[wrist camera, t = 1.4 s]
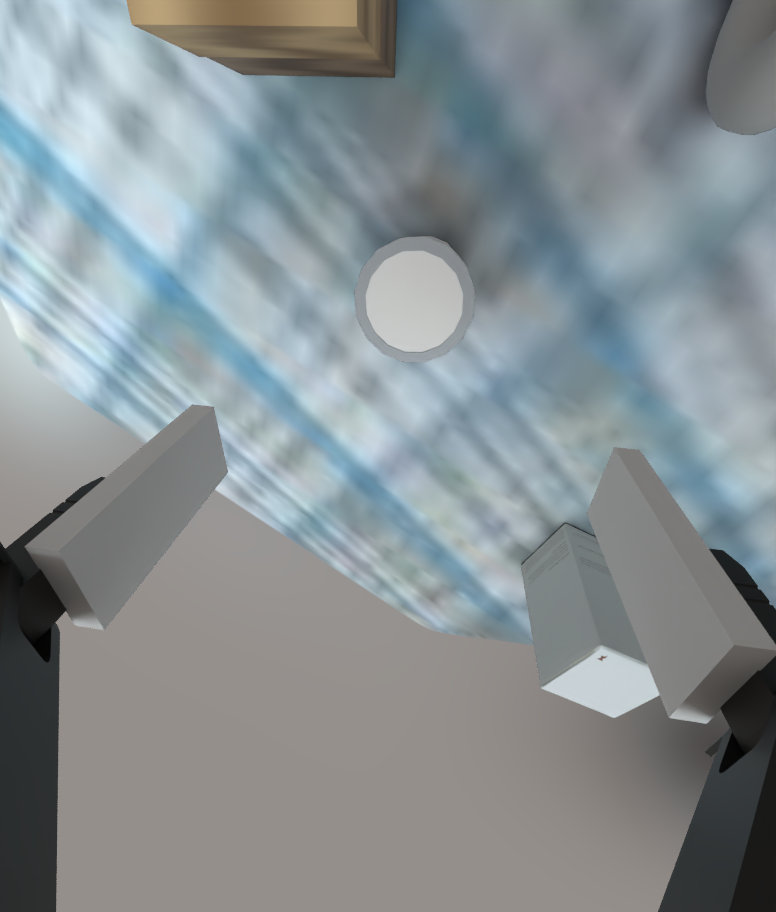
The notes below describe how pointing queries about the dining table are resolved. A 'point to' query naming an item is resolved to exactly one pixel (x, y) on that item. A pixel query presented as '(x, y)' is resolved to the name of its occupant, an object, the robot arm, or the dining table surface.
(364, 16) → the oak block
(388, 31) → the walnut block
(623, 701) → the supplement box
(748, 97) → the donut
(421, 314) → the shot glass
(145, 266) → the dining table surface
